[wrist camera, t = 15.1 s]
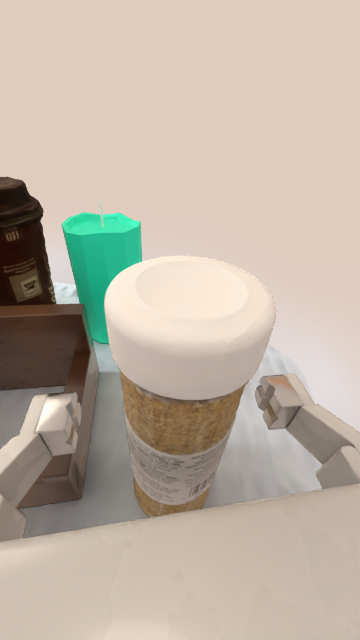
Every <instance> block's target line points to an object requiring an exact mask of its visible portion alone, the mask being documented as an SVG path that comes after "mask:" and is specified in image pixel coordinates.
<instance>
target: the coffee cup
mask: <svg viewBox="0 0 360 640" xmlns="http://www.w3.org/2000/svg"><path fill="white" fill-rule="evenodd" d="M42 216H43V208H42V207H41V205H40V203H39V201H38V200H37V199H35V198H34V197H32V196H30V194H29V193H28V191H27V188H26V185H25V183H24V182H23V181H22V180H18V179H13V178H10V177H0V306H20V305H54V304H56V299H55V293H54V288H53V283H52V280H51V277H50V275H51V272H50V267H49V264H48V256H47V253H46V248H45V238H44V235H43V227H42V224H41V222H40V221H41V218H42Z"/></svg>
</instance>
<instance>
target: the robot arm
mask: <svg viewBox="0 0 360 640" xmlns="http://www.w3.org/2000/svg"><path fill="white" fill-rule="evenodd" d="M259 382H260V384H261V385H259V386H258V387H257V388H256V391H255V398H256V402H257V405H258V407H259V408H260V409H261V410H263V411H264V413H263V418H264V420H265V423H266V425H267V427H268V429H269V430H274V429H285V428H287V429H286V430H287V431H288V432H289V433H290V434H291V435H292V436H294V437H295V438H296V439H297V440H298V441H299V442H300V443H301V444H302V445H303V446H304V447H305V448H306V449H307V450H308V451H309V452H310V453H311V454H312V455H313V456H314V457H315V458H317V459H318V460H319V461H320V462H321V463H322V464H323V466H322V467H321V468H320V469H319V470H318V471H317V472H316V477H317V479H318V480H319V482H320V484H321V486H322V488H323V489H320V490H314V491H308V492H302V493H296V494H290V495H284V496H278V497H272V498H265V499H259V500H253V501H247V502H241V503H235V504H229V505H223V506H217V507H211V508H205V509H198V510H192V511H186V512H180V513H174V514H168V515H162V516H156V517H150V518H144V519H138V520H132V521H125V522H119V523H113V524H107V525H101V526H95V527H89V528H83V529H77V530H71V531H64V532H58V533H52V534H46V535H40V536H34V537H28V538H23V535H24V531H25V528H26V524H27V520H28V519H27V517H26V516H25V515H24V514H23V513H22V512H21V511H20V510H18V509H17V508H16V507H17V505H18V504H19V503H20V501H21V500H22V499H23V497H24V496H25V495H26V493H27V492H28V490H29V489H30V488H31V486H32V485H33V484H34V482H35V481H36V480H37V478H38V477H39V475H40V474H41V473H42V471H43V470H44V469H45V467H46V466H47V465H48V463H49V462H50V460H51V459H52V458H53V457H52V456H57V455H64V454H71V453H75V451H76V445H77V440H78V435H77V432H76V430H77V429H78V427H79V426H80V423H81V405H80V403H79V402H77V398H78V396H77V394H76V392H70V393H55V394H40V395H35V396H34V397H33V398H32V400H31V403H30V406H29V408H28V411H27V414H26V416H25V419H24V422H23V424H22V427H21V430H20V432H19V435H17V436H14V437H13V438H12V439H10V440H9V441H8V442H7V443H6V444H5V445H4V446H3V447H2V448H1V449H0V640H360V433H359V432H358V431H356V430H355V429H354V428H352V427H351V426H349V425H348V424H346V423H345V422H343V421H342V420H341V419H339V418H338V417H336V416H335V415H333V414H332V413H330V412H329V411H327V410H326V409H324V408H323V407H322V406H320V405H319V404H315V403H314V402H313V400H312V399H311V397H310V396H309V394H308V393H307V391H306V390H305V388H304V387H303V385H302V383H301V382H300V380H299V379H298V377H297V376H296V375H295V374H286V375H272V376H263V377H262V378H261V379H260V381H259Z"/></svg>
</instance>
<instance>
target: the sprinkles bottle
mask: <svg viewBox="0 0 360 640" xmlns="http://www.w3.org/2000/svg"><path fill="white" fill-rule="evenodd" d="M104 308H105V316H106V324H107V331H108V338H109V345H110V350H111V354H112V357H113V360H114V361H115V363H116V365H117V367H118V369H119V370H120V373H121V382H122V390H123V406H124V415H125V422H126V429H127V436H128V444H129V451H130V458H131V464H132V470H133V473H134V491H135V496H136V498H137V500H138V502H139V505H140V507H141V508H142V510H143V511H144V512H145V514H146V515H148V516H149V517H156V516H162V515H168V514H174V513H180V512H186V511H192V510H198V509H201V508H202V506H203V504H204V503H205V500H206V497H207V495H208V491H209V485H210V483H211V482H212V479H213V477H214V474H215V472H216V469H217V467H218V464H219V461H220V459H221V456H222V454H223V451H224V449H225V446H226V443H227V440H228V437H229V435H230V432H231V429H232V426H233V424H234V421H235V417H236V411H237V409H238V406H239V403H240V398H241V395H242V393H243V390H244V387H245V385H246V384H247V383H248V382H249V380H250V379H251V378H252V377H253V375H254V374H255V373H256V371H257V370H258V368H259V366H260V363H261V361H262V358H263V355H264V353H265V350H266V347H267V344H268V342H269V338H270V336H271V332H272V329H273V326H274V323H275V318H276V308H275V303H274V300H273V297H272V295H271V294H270V292H269V291H268V289H267V288H266V287H265V286H264V284H262V283H261V282H260V281H259V280H258V279H257V278H255V277H254V276H253V275H251V274H250V273H248V272H246V271H244V270H242V269H240V268H238V267H236V266H234V265H231V264H228V263H225V262H222V261H218V260H214V259H210V258H203V257H193V256H166V257H159V258H154V259H150V260H145V261H142V262H139V263H137V264H134V265H132V266H130V267H129V268H127V269H125V270H123V271H122V272H121V273H119V274H118V275H117V276H116V277H115V278H114V279H113V280H112V282H111V283H110V285H109V287H108V289H107V291H106V294H105V300H104Z"/></svg>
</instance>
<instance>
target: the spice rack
mask: <svg viewBox="0 0 360 640" xmlns="http://www.w3.org/2000/svg"><path fill="white" fill-rule="evenodd" d="M98 376H99V368H98V363H97V359H96V354H95V349H94V345H93V340H92V335H91V331H90V326H89V321H88V317H87V312H86V307H85V304H54V305H20V306H0V390H6V389H18V388H31V387H44V386H57V385H66V386H65V389H64V393H70V392H76V394H77V396H78V398H77V402H79V403H80V405H81V423H80V426H79V427H78V429H77V430H76V432H77V435H78V440H77V445H76V451H75V453H71V454H64V455H57V456H52V457H53V458H52V459H51V460H50V462H49V463H48V465H47V466H46V467H45V469H44V470H43V471H42V473H41V474H40V475H39V477H38V478H37V480H36V481H35V482H34V484H33V485H32V486H31V488H30V489H29V490H28V492H27V493H26V495H25V496H24V497H23V499H22V500H21V501H20V503H19V504H18V505H17V507H16V508H24V507H31V506H38V505H45V504H51V503H58V502H65V501H72V500H79V499H81V498H82V492H83V484H84V477H85V470H86V462H87V455H88V448H89V441H90V434H91V427H92V419H93V412H94V405H95V398H96V391H97V384H98Z"/></svg>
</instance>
